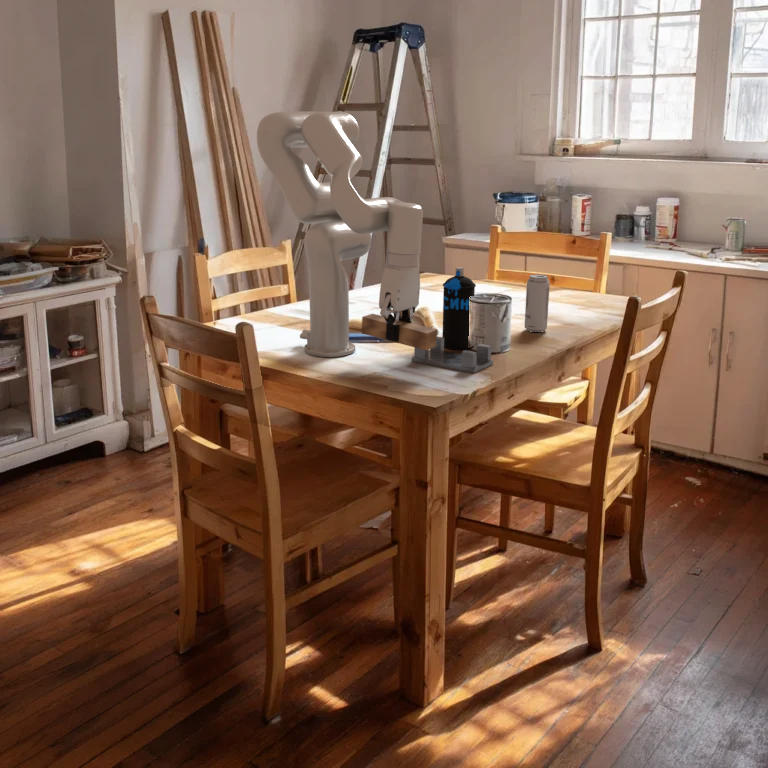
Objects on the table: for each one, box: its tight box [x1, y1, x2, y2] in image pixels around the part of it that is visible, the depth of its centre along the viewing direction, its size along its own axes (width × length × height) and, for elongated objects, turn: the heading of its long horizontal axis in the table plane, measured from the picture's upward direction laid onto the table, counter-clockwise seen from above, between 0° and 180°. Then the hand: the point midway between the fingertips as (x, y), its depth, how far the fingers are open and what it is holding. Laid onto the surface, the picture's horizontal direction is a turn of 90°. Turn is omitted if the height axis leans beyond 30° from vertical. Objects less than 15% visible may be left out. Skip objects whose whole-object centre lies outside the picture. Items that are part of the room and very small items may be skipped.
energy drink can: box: [524, 273, 551, 332], centre depth 241 cm, size 6×6×15 cm
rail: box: [361, 313, 438, 350], centre depth 206 cm, size 18×4×4 cm, turn 55°
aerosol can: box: [441, 266, 477, 351], centre depth 225 cm, size 8×8×20 cm
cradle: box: [411, 336, 494, 374], centre depth 213 cm, size 17×9×4 cm, turn 55°
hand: (398, 337), depth 206 cm, fingers closed on rail, 4 cm apart
